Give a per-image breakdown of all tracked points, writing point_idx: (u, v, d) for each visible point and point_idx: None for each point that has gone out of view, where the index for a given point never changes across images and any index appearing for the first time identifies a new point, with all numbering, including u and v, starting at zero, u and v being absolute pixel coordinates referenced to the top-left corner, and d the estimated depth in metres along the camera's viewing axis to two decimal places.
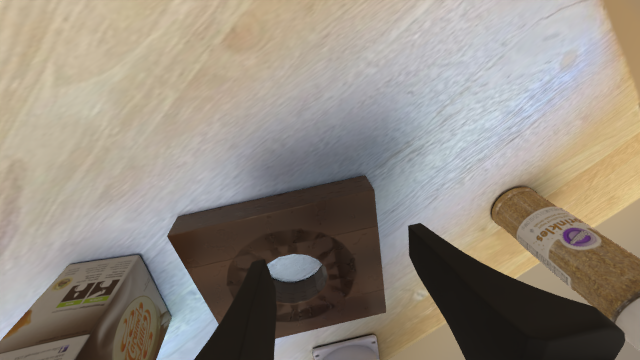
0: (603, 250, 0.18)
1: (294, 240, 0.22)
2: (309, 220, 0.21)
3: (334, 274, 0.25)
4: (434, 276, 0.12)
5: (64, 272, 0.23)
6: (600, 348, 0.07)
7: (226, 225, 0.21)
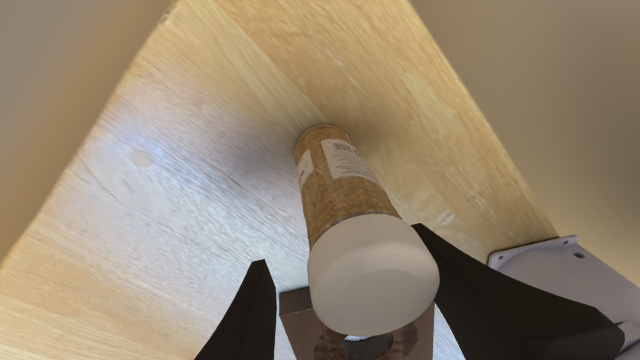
0: None
1: (324, 350, 0.29)
2: (306, 345, 0.28)
3: None
4: None
5: None
6: (600, 348, 0.07)
7: None
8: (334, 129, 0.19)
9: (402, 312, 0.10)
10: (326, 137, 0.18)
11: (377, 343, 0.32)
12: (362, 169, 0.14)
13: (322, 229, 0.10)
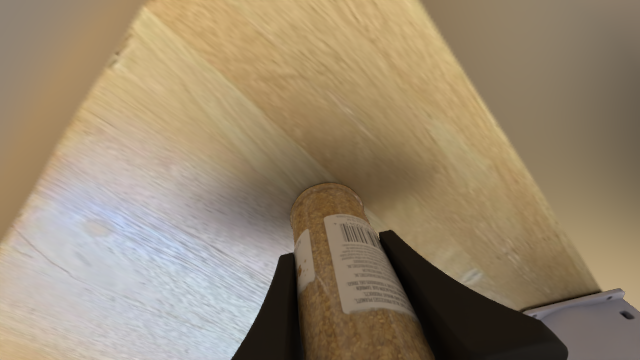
0: None
1: None
2: None
3: None
4: None
5: None
6: None
7: None
8: (340, 191, 0.15)
9: None
10: (330, 210, 0.13)
11: None
12: (384, 285, 0.09)
13: None
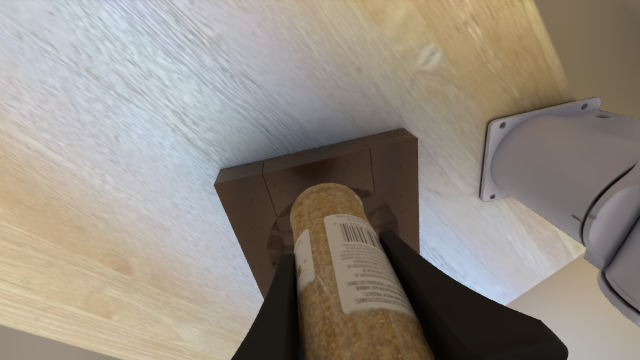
0: None
1: (281, 247, 0.23)
2: (256, 237, 0.22)
3: None
4: (401, 284, 0.11)
5: None
6: None
7: (263, 291, 0.25)
8: (340, 191, 0.15)
9: None
10: (330, 210, 0.13)
11: None
12: (384, 285, 0.09)
13: None
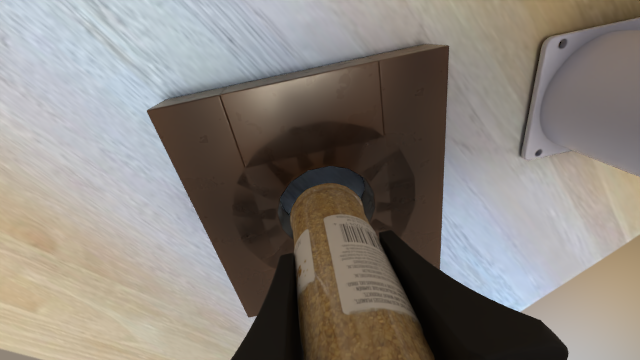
0: None
1: (253, 212, 0.16)
2: (217, 197, 0.16)
3: (324, 156, 0.15)
4: None
5: None
6: None
7: (232, 276, 0.19)
8: (340, 191, 0.15)
9: None
10: (330, 210, 0.13)
11: None
12: (384, 286, 0.09)
13: None
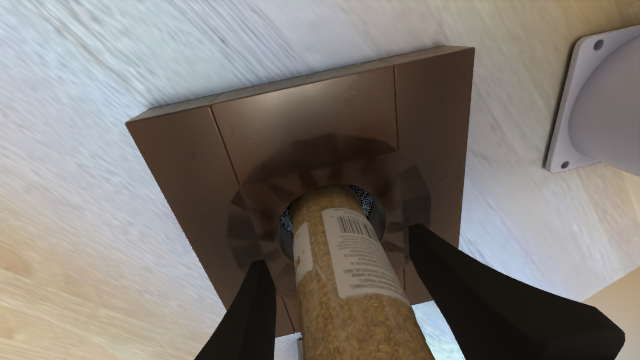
0: None
1: (249, 235, 0.15)
2: (208, 218, 0.14)
3: (330, 173, 0.14)
4: (434, 276, 0.12)
5: None
6: (600, 348, 0.07)
7: (227, 302, 0.17)
8: (338, 186, 0.16)
9: None
10: (328, 204, 0.14)
11: None
12: (379, 273, 0.10)
13: None
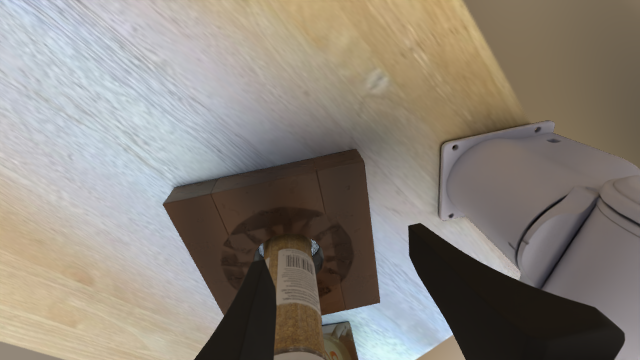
0: None
1: (235, 263, 0.23)
2: (209, 254, 0.22)
3: (284, 227, 0.22)
4: (434, 276, 0.12)
5: None
6: (600, 348, 0.07)
7: (221, 305, 0.25)
8: None
9: None
10: (283, 245, 0.22)
11: None
12: (300, 291, 0.18)
13: None
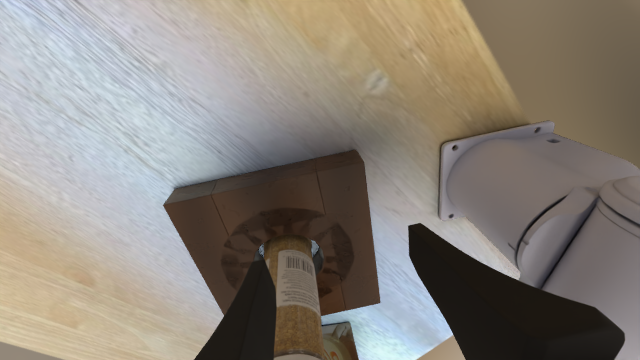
0: None
1: (235, 264, 0.23)
2: (210, 254, 0.22)
3: (284, 228, 0.22)
4: (434, 276, 0.12)
5: None
6: (600, 348, 0.07)
7: (222, 306, 0.25)
8: None
9: None
10: (284, 246, 0.23)
11: None
12: (300, 293, 0.19)
13: None
